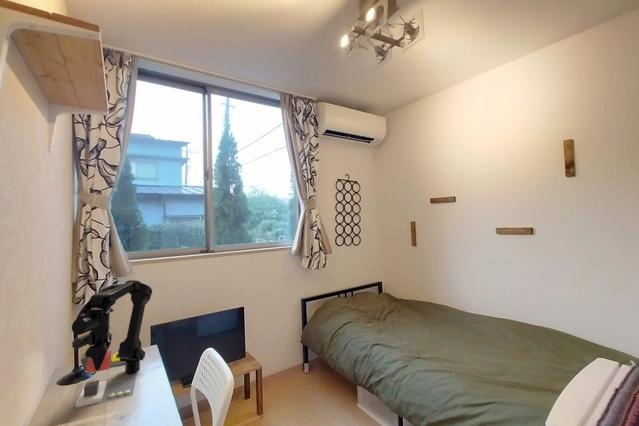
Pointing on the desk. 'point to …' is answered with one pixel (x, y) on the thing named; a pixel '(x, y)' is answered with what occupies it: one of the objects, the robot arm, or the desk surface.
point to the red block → (104, 365)
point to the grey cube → (91, 388)
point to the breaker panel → (106, 393)
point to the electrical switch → (84, 361)
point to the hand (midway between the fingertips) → (99, 366)
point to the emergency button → (116, 361)
